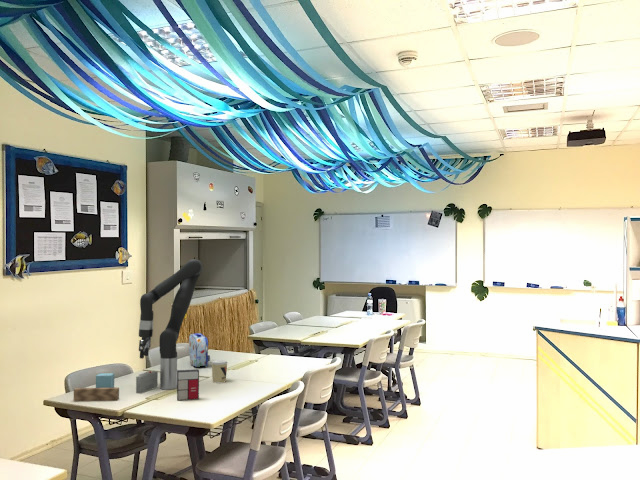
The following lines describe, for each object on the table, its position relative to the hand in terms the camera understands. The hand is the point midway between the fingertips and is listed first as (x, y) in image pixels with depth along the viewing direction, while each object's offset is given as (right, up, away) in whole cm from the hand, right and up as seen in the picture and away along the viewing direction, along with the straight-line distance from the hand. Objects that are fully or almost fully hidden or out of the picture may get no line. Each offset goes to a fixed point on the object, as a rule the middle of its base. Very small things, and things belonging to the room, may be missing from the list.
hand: (144, 357), depth 308 cm
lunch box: (+17, -19, +63) cm, 68 cm away
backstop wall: (-17, -17, -16) cm, 29 cm away
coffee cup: (+40, -18, +17) cm, 47 cm away
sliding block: (-18, -16, -11) cm, 26 cm away
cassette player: (+3, -18, -4) cm, 19 cm away
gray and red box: (+30, -17, -23) cm, 42 cm away
